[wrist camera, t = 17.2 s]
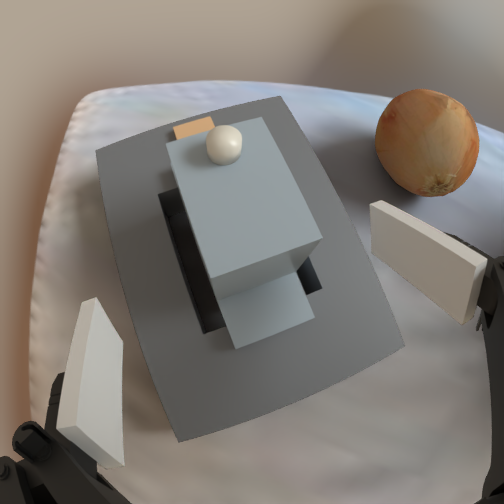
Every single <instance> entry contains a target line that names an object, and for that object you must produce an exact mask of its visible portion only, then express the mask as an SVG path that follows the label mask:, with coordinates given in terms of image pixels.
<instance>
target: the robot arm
mask: <svg viewBox="0 0 504 504" xmlns="http://www.w3.org/2000/svg"><path fill="white" fill-rule="evenodd" d="M369 205H370V224H371V253H372V254H373V255H375V256H376V257H377V258H379V259H380V260H381V261H383V262H384V263H385V264H387V265H388V266H389V267H391V268H392V269H393V270H394V271H396V272H397V273H398V274H400V275H401V276H402V277H403V278H405V279H406V280H407V281H409V282H410V283H411V284H412V285H414V286H415V287H416V288H417V289H419V290H420V291H421V292H422V293H424V294H425V295H426V296H427V297H428V298H430V299H431V300H432V301H433V302H435V303H436V304H437V305H438V306H439V307H441V308H442V309H443V310H444V311H445V312H447V313H448V314H449V315H450V316H451V317H453V318H454V319H455V320H456V321H457V322H458V323H460V324H461V325H463V324H465V323H466V322H468V321H469V320H470V319H472V318H473V317H474V313H475V310H476V306H477V305H478V306H479V307H480V308H481V309H482V310H481V314H480V317H479V320H478V323H477V326H476V331H478V330H479V327H480V325H481V324H482V331H483V334H484V340H485V346H486V354H487V361H488V370H489V380H490V392H491V411H492V455H491V466H490V470H489V472H488V474H487V476H486V478H485V482H484V485H483V491H482V499H481V500H479V501H478V502H476V503H474V504H504V256H501V257H498V258H496V259H493V258H492V257H490V256H488V255H487V254H485V253H484V252H482V251H480V250H479V249H477V248H475V247H474V246H470V244H469V243H467V242H464V241H463V240H462V239H460V238H458V237H456V236H455V235H451V234H448V233H445V232H441V231H439V230H438V229H436V228H434V227H432V226H430V225H429V224H427V223H425V222H423V221H421V220H419V219H417V218H416V217H414V216H412V215H410V214H408V213H406V212H404V211H402V210H400V209H398V208H396V207H394V206H392V205H390V204H388V203H386V202H384V201H382V200H380V201H377V202H374V203H371V204H369ZM122 361H123V341H122V340H121V338H120V336H119V335H118V333H117V332H116V330H115V328H114V327H113V325H112V323H111V322H110V320H109V318H108V316H107V315H106V313H105V311H104V309H103V308H102V306H101V304H100V302H99V301H98V299H97V297H95V298H92V299H89V300H86V301H84V302H82V304H81V308H80V311H79V315H78V319H77V322H76V326H75V330H74V334H73V338H72V343H71V347H70V351H69V356H68V361H67V365H66V370H65V372H63V373H60V374H58V375H57V377H56V379H55V381H54V383H53V384H52V389H51V394H50V396H51V397H50V399H49V406H48V410H47V416H46V423H45V429H43V428H42V427H41V426H40V425H38V424H37V423H36V422H34V421H28V422H25V423H23V424H22V425H20V426H19V427H18V429H17V430H16V432H15V434H14V436H13V441H12V446H13V449H14V451H15V452H17V453H18V454H19V455H20V456H22V457H23V458H24V459H23V460H21V461H19V462H17V463H16V462H15V461H14V460H12V459H11V458H10V457H7V456H3V457H0V504H131V503H130V502H129V501H128V500H127V499H126V498H125V497H124V496H123V495H122V494H120V493H119V492H118V491H117V490H116V489H115V488H114V487H113V486H112V485H111V484H110V483H109V482H108V481H107V480H106V479H105V478H104V477H103V476H102V475H101V474H100V473H98V472H97V463H98V464H100V465H101V466H102V467H104V468H105V469H111V468H118V467H124V466H125V464H124V449H123V427H122Z"/></svg>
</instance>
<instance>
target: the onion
mask: <svg viewBox="0 0 504 504" xmlns="http://www.w3.org/2000/svg"><path fill="white" fill-rule="evenodd" d="M375 148H376V152H377V155H378V158H379V160H380V162H381V164H382V166H383V167H384V169H385V170H386V171H387V172H388V174H389V175H390V176H391V177H392V178H393V180H394V181H395V182H396V183H397V184H398V185H400V186H401V187H403V188H405V189H406V190H408V191H409V192H411V193H414V194H417V195H420V196H425V197H434V196H444V195H446V194H448V193H451V192H453V191H455V190H456V189H458V188H459V187H460V186H461V185H462V184H464V183H465V181H466V180H467V179H468V178H469V176H470V175H471V173H472V171H473V169H474V167H475V164H476V161H477V157H478V153H479V136H478V130H477V127H476V124H475V121H474V119H473V118H472V116H471V115H470V113H469V112H468V110H467V109H466V108H465V107H464V106H463V105H462V104H461V103H459V102H458V101H456V100H455V99H453V98H451V97H449V96H447V95H444V94H441V93H439V92H435V91H432V90H427V89H415V90H412V91H408V92H406V93H403V94H401V95H399V96H397V97H395V98H394V99H393V100H392V101H391V102H390V103H389V104H388V106H387V107H386V108H385V110H384V112H383V113H382V115H381V117H380V119H379V121H378V125H377V129H376V135H375Z"/></svg>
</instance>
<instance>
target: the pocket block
mask: <svg viewBox="0 0 504 504" xmlns="http://www.w3.org/2000/svg"><path fill="white" fill-rule="evenodd" d="M259 117H262V119H263V120H264V122H265V124H266V126H267V128H268V130H269V131H270V133H271V135H272V137H273V139H274V141H275V143H276V144H277V146H278V148H279V150H280V152H281V154H282V156H283V158H284V160H285V162H286V164H287V166H288V167H289V169H290V171H291V173H292V175H293V177H294V179H295V181H296V183H297V185H298V187H299V189H300V191H301V193H302V195H303V197H304V199H305V201H306V203H307V206H308V208H309V210H310V212H311V214H312V216H313V218H314V220H315V222H316V224H317V226H318V229H319V231H320V233H321V235H322V237H323V238H322V240H321V241H320V242H319V244H318V245H317V246H316V247H315V249H314V250H313V251H312V252H311V254H310V255H309V256H308V257H307V259H306V260H305V261H304V262H303V263H302V265H301V266H300V267H299V268H298V270H297V273H298V276H299V278H300V280H301V283H302V285H303V287H304V290H305V292H306V294H307V295H306V297H307V299H308V302H309V304H310V307H311V309H312V311H313V314H314V316H315V318H313V319H310V320H308V321H306V322H303V323H301V324H299V325H296V326H294V327H291V328H289V329H286V330H284V331H282V332H279V333H277V334H274V335H272V336H269V337H266V338H264V339H261V340H259V341H256V342H254V343H251V344H248V345H246V346H243V347H240V348H238V349H235V347H234V344H233V341H232V339H231V336H230V334H229V331H228V329H227V326H225V327H222V328H220V329H217V330H214V331H211V332H208V333H207V332H206V330H205V327H204V324H203V322H202V319H201V316H200V313H199V311H198V308H197V305H196V302H195V299H194V297H193V294H192V291H191V288H190V285H189V282H188V279H187V276H186V273H185V270H184V267H183V264H182V261H181V258H180V255H179V252H178V249H177V246H176V243H175V239H174V236H173V233H172V230H171V227H170V223H169V220H168V217H169V216H172V215H175V214H178V213H181V212H183V211H185V208H184V205H183V202H182V199H181V195H180V192H179V189H178V186H177V183H176V180H175V177H174V173H173V170H172V167H171V161H170V157H169V154H168V150H167V147H166V143H169V142H172V141H175V140H179V139H182V138H185V137H188V136H191V135H195V134H198V133H202V132H205V131H209V130H211V129H213V128H215V127H217V126H221V125H231V124H234V123H238V122H242V121H246V120H250V119H255V118H259ZM96 158H97V165H98V172H99V179H100V185H101V191H102V197H103V202H104V208H105V213H106V218H107V223H108V228H109V233H110V238H111V242H112V246H113V251H114V255H115V259H116V263H117V267H118V271H119V275H120V279H121V283H122V287H123V290H124V294H125V298H126V301H127V305H128V308H129V311H130V315H131V318H132V321H133V325H134V328H135V331H136V334H137V337H138V340H139V343H140V346H141V349H142V352H143V355H144V358H145V361H146V363H147V366H148V369H149V372H150V375H151V377H152V380H153V383H154V385H155V388H156V390H157V393H158V395H159V398H160V400H161V403H162V405H163V408H164V410H165V413H166V415H167V417H168V420H169V422H170V424H171V427H172V429H173V431H174V433H175V436H176V438H177V440H178V442H183V441H186V440H190V439H193V438H197V437H200V436H204V435H207V434H210V433H213V432H216V431H220V430H223V429H226V428H229V427H232V426H235V425H237V424H240V423H243V422H246V421H249V420H251V419H254V418H257V417H260V416H262V415H265V414H267V413H270V412H272V411H275V410H277V409H280V408H282V407H285V406H287V405H290V404H292V403H294V402H297V401H299V400H301V399H304V398H306V397H308V396H310V395H313V394H315V393H317V392H319V391H321V390H323V389H326V388H328V387H330V386H332V385H334V384H336V383H338V382H340V381H342V380H344V379H346V378H348V377H350V376H352V375H354V374H356V373H358V372H360V371H362V370H364V369H365V368H367V367H369V366H371V365H373V364H375V363H377V362H378V361H380V360H382V359H384V358H386V357H387V356H389V355H391V354H392V353H394V352H396V351H398V350H399V349H401V348H403V347H404V346H405V345H404V342H403V339H402V336H401V334H400V331H399V329H398V326H397V323H396V321H395V318H394V316H393V313H392V311H391V308H390V306H389V304H388V301H387V299H386V296H385V294H384V292H383V289H382V287H381V285H380V282H379V280H378V278H377V275H376V273H375V271H374V269H373V266H372V264H371V262H370V260H369V257H368V255H367V253H366V251H365V249H364V247H363V245H362V242H361V240H360V238H359V236H358V234H357V232H356V230H355V228H354V226H353V224H352V222H351V220H350V218H349V216H348V214H347V212H346V210H345V208H344V206H343V204H342V202H341V200H340V198H339V196H338V194H337V192H336V190H335V189H334V187H333V185H332V183H331V181H330V179H329V177H328V175H327V174H326V172H325V170H324V168H323V166H322V165H321V163H320V161H319V159H318V157H317V156H316V154H315V152H314V150H313V149H312V147H311V145H310V143H309V142H308V140H307V138H306V137H305V135H304V133H303V132H302V130H301V128H300V126H299V125H298V123H297V122H296V120H295V118H294V117H293V115H292V113H291V112H290V110H289V109H288V107H287V105H286V104H285V102H284V101H283V99H282V97H281V96H277V97H272V98H267V99H262V100H257V101H252V102H248V103H244V104H239V105H235V106H231V107H227V108H223V109H219V110H215V111H211V112H208V113H204V114H200V115H197V116H193V117H190V118H186V119H183V120H180V121H176V122H173V123H170V124H167V125H164V126H161V127H158V128H155V129H152V130H149V131H146V132H143V133H140V134H137V135H135V136H132V137H129V138H126V139H124V140H121V141H118V142H116V143H113V144H111V145H108V146H106V147H103V148H101V149H98V150H96Z"/></svg>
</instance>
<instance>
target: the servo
mask: <svg viewBox="0 0 504 504" xmlns="http://www.w3.org/2000/svg"><path fill="white" fill-rule="evenodd" d="M166 147H167V150H168V154H169V157H170V161H171V167H172V170H173V173H174V177H175V180H176V183H177V186H178V189H179V192H180V195H181V199H182V202H183V205H184V208H185V211H186V214H187V218H188V221H189V224H190V227H191V230H192V233H193V236H194V239H195V242H196V245H197V248H198V250H199V253H200V256H201V259H202V262H203V265H204V268H205V270H206V273H207V276H208V279H209V282H210V284H211V287H212V290H213V293H214V295H215V298H216V301H217V303H218V306H219V309H220V311H221V313H222V315H223V318H224V321H225V323H226V326H227V329H228V331H229V334H230V336H231V339H232V341H233V344H234V347H235V349H238V348H240V347H243V346H246V345H248V344H251V343H254V342H256V341H259V340H261V339H264V338H266V337H269V336H272V335H274V334H277V333H279V332H282V331H284V330H286V329H289V328H291V327H294V326H296V325H299V324H301V323H303V322H306V321H308V320H310V319H313V318H315V316H314V314H313V311H312V309H311V307H310V304H309V302H308V299H307V297H306V295H305V292H304V290H303V287H302V285H301V283H300V280H299V278H298V276H297V273H296V271H297V270H298V268H299V267H300V266H301V265H302V263H303V262H304V261H305V260H306V259H307V257H308V256H309V255H310V254H311V252H312V251H313V250H314V249H315V247H316V246H317V245H318V244H319V242H320V241H321V240H322V238H323V237H322V235H321V233H320V231H319V229H318V226H317V224H316V222H315V220H314V218H313V216H312V214H311V212H310V210H309V208H308V206H307V203H306V201H305V199H304V197H303V195H302V193H301V191H300V189H299V187H298V185H297V183H296V181H295V179H294V177H293V175H292V173H291V171H290V169H289V167H288V166H287V164H286V162H285V160H284V158H283V156H282V154H281V152H280V150H279V148H278V146H277V144H276V143H275V141H274V139H273V137H272V135H271V133H270V131H269V130H268V128H267V126H266V124H265V122H264V120H263V119H262V117H259V118H255V119H250V120H246V121H242V122H238V123H234V124H231V125H221V126H217V127H215V128H213V129H211V130H209V131H205V132H202V133H198V134H195V135H191V136H188V137H185V138H182V139H179V140H175V141H172V142H169V143H166Z"/></svg>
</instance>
